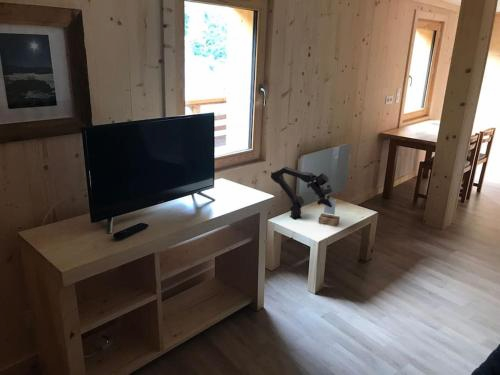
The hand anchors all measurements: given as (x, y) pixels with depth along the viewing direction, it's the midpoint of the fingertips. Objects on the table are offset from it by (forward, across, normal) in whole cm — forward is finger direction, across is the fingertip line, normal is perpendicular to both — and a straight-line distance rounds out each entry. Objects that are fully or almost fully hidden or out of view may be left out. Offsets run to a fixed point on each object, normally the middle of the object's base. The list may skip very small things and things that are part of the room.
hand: (331, 206), depth 281 cm
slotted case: (+9, +2, +10) cm, 14 cm away
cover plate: (+3, 0, +5) cm, 5 cm away
